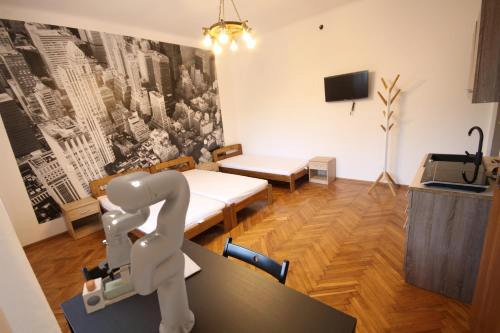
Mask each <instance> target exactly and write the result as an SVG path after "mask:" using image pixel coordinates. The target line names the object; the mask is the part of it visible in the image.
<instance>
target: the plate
mask: <svg viewBox="0 0 500 333" xmlns="http://www.w3.org/2000/svg"><path fill="white" fill-rule="evenodd" d="M183 254H184V257H185V270H184V276H185V279H186V278H188V277H190V276H191V275H194V274H195V273H198V272H199V271H201V269H202V268H201V267H200V266H199V265H198V264H197V263H196V262H195V261H194V260H192V259H191V258H190V257H189V256H188V255H187V254H186V253H185V252H183Z"/></svg>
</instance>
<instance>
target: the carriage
mask: <svg viewBox="0 0 500 333" xmlns="http://www.w3.org/2000/svg"><path fill="white" fill-rule="evenodd" d="M119 273H120V278H117V279H114V280H113V281H109V282H106V283H105V289H104V291H105V293H106V297H107V299H108V300H109V299H111V298H114V297H116V296H119V295H121V294H124V293H127V292H129V291H132V290H134V288H133V286H132V282H131V273H130V270H129V264H126V265H123V266H120V267H119Z"/></svg>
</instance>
